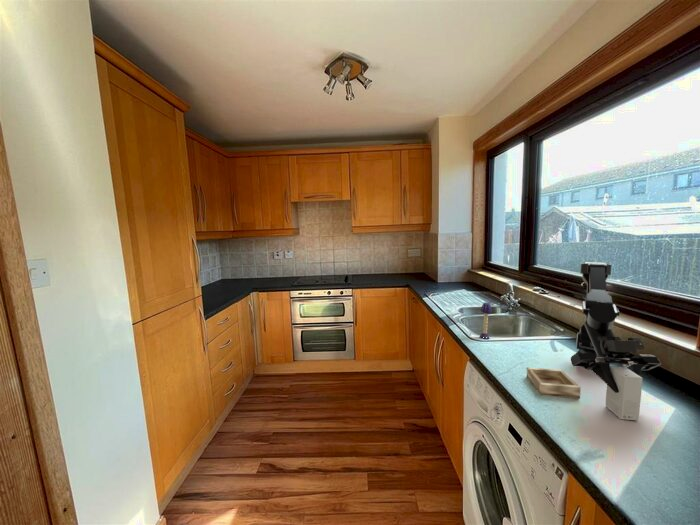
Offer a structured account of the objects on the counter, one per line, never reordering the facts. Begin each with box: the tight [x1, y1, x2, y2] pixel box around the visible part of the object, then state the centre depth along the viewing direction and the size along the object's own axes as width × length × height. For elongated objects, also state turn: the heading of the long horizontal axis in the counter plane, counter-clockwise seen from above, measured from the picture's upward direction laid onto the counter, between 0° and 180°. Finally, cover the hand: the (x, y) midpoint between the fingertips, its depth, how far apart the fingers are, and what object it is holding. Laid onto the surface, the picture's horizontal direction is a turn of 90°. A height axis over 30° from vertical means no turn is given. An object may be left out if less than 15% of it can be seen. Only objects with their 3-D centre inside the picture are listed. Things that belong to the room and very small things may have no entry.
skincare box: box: [604, 365, 643, 421], centre depth 74 cm, size 6×4×12 cm
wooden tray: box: [526, 367, 581, 399], centre depth 88 cm, size 10×10×4 cm
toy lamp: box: [479, 302, 493, 339], centre depth 127 cm, size 5×5×17 cm
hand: (627, 393), depth 73 cm, fingers closed on skincare box, 4 cm apart
